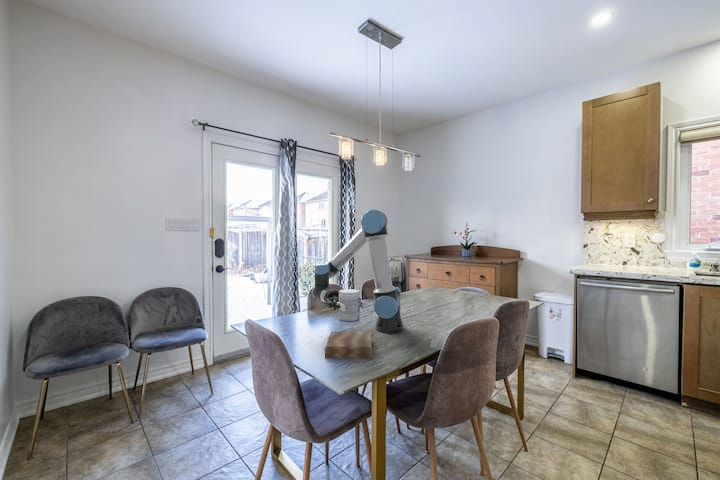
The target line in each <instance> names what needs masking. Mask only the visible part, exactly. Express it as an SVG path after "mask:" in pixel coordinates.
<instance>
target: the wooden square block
mask: <svg viewBox="0 0 720 480" xmlns="http://www.w3.org/2000/svg"><path fill="white" fill-rule="evenodd" d="M371 332H372V331H336V330H335V331H332V330H331V331H330V333H329V337H328V339H327V342H326V344H325V347H324V359H339V360H340V359H344V360H345V359H347V360H348V359H349V360H350V359H353V360H354V359H355V360H372V359H373V335H372V333H371Z"/></svg>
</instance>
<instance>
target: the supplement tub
mask: <svg viewBox="0 0 720 480" xmlns="http://www.w3.org/2000/svg"><path fill="white" fill-rule="evenodd" d="M338 292H339V303H342V304H344V305H346V307H345V311H342V310H339V309H338V323H339V324H340V325H341V326H350V327H351V326H352V327H353V326H356V325H358V324H360V321H361V317H360V315H361V311H360V310H361V307H360V298H361V294H360V293H361V292H360V290H359V289H354V288H353V289H352V288H344V289H340V290H339V291H338Z"/></svg>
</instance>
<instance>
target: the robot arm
mask: <svg viewBox="0 0 720 480" xmlns="http://www.w3.org/2000/svg"><path fill="white" fill-rule="evenodd" d="M387 226H388V218H387V215H386V214H385V213H384V212H383V211H381V210H379V209H369V210H367V211H365V212H364V213H363V214H362V216H361V218H360V229H359V231H358V232H357V233H355V235H354V236H352V238H350V240H349V241H348V242H347V243H346V244H345V245H344V246H343V247H342V248H341V249H340V250H339V251H338V252H337V254H336V255H334V257H332V258H331V260H330V261H329V262H328V263H316V264H315V266H314V287H312V290H311V295H312V297H313V298H314V299H315V300H317V301H319V302H322V303H323V304H324V305H326V306H327V307H328V308H329V309H332V308H333V310H335V311H336V310H337V309H338V311H339V310H342V311H345V307H346V305H344V304H342V303H339V291H337V290H334V289H331V288H330V279H332V278H334V277H336V276H337V274H338V273H339V272H340V270H341V269H342V268H344V266H345V265H347V263H349V261H351V259H353V258H354V256H356V254H358V252H359V251H360V250H362V248H363V247H364V246H365V245H366V244H368V248H369V254H370V260H371V267H372V274H373V280H374V287H375V288H374V289H373V291H372V292H373V293H372V295H373V300H374V302H373V310H374V313H375V314H376V315H377V320H376V323H375V330H377V331H378V332H380V333H386V334H391V333H392V334H394V333H400V332H402V331H403V330H404V323H403V322H404V321H403V320H402V317H401V293H402V292H401V288H400V287H398V286H394V285H393V281H392V274H391V267H390V261H389V256H388V255H389V253H388V249H387V242H386V238H387V237H388V228H387ZM361 308H362V309H365V308H366V302H365V301H363V300H362V298H361V297H360V309H361Z"/></svg>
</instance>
